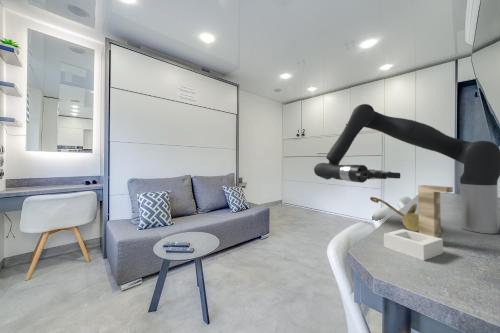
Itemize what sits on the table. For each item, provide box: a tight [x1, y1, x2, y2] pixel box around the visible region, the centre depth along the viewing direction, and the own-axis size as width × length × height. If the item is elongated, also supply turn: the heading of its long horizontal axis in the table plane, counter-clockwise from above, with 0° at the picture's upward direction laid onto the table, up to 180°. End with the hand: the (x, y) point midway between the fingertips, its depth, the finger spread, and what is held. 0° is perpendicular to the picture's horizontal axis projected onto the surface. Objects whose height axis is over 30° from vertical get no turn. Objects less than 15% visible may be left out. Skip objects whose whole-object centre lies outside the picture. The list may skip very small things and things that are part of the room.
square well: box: [383, 228, 444, 261], centre depth 58 cm, size 10×10×4 cm
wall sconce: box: [369, 196, 442, 232], centre depth 83 cm, size 14×10×25 cm
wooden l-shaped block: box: [417, 184, 454, 239], centre depth 63 cm, size 4×7×18 cm, turn 25°
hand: (393, 175), depth 74 cm, fingers open, 8 cm apart
